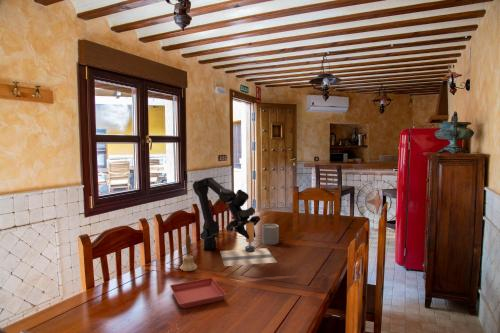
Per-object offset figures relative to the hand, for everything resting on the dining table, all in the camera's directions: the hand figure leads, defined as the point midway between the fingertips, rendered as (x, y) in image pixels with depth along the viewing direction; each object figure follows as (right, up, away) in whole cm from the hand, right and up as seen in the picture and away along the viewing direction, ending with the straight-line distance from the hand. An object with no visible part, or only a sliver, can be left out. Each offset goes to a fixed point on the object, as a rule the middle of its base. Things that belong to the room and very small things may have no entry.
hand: (251, 237), depth 171 cm
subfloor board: (-2, -13, +10) cm, 16 cm away
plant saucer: (-22, -17, -34) cm, 43 cm away
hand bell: (-30, -14, -3) cm, 34 cm away
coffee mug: (+12, -11, +40) cm, 43 cm away
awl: (-1, -7, +2) cm, 7 cm away
